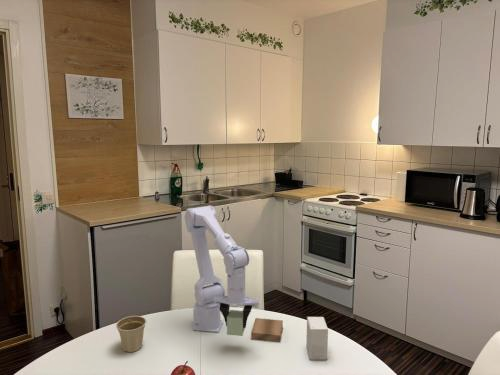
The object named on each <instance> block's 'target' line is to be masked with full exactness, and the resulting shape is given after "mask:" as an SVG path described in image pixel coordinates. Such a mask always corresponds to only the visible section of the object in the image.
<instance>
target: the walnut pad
mask: <svg viewBox="0 0 500 375" xmlns="http://www.w3.org/2000/svg"><path fill="white" fill-rule="evenodd" d="M283 322H284V321H283V320H281V319H272V318H271V319H270V318H260V317H258V318H257V317H255V319H254V322H253V325H252V328H251V331H250V332H251V333H250V340H253V341H263V342H274V343H281V339H282V333H283Z"/></svg>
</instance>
